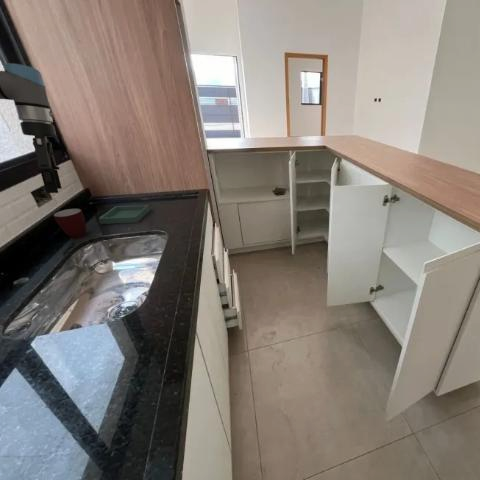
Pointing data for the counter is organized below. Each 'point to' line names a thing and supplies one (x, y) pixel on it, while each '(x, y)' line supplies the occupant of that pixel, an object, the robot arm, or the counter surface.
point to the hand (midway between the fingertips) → (54, 190)
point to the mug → (71, 222)
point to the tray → (124, 214)
